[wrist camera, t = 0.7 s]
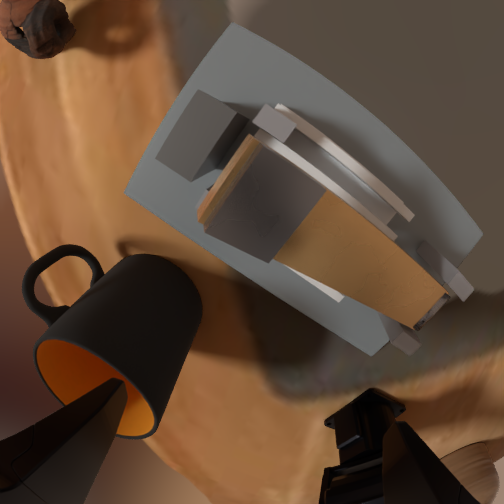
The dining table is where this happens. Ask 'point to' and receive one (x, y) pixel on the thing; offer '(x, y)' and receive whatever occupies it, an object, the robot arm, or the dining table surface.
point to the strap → (315, 235)
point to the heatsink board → (311, 161)
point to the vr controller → (36, 26)
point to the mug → (118, 334)
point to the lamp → (474, 471)
